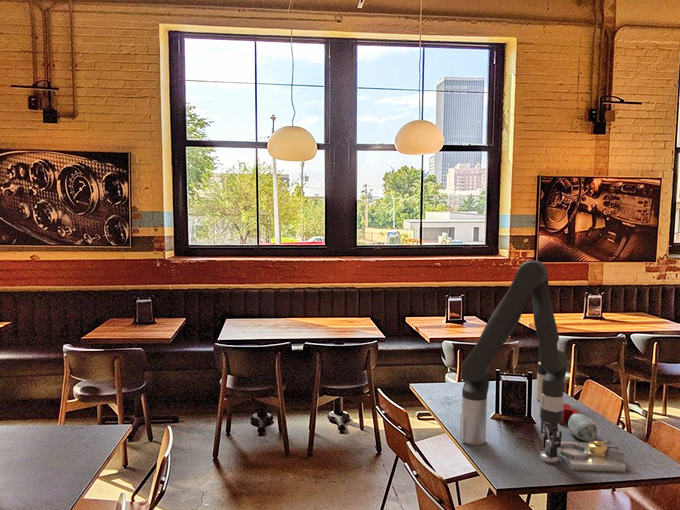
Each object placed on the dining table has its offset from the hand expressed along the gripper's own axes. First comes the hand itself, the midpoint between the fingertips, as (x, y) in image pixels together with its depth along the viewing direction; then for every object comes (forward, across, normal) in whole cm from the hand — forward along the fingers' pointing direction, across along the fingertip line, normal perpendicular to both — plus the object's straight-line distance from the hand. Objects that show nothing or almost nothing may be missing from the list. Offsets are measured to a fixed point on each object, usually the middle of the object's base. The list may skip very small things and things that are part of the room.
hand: (549, 452), depth 183 cm
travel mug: (+3, -62, +20) cm, 65 cm away
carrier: (+3, -2, +14) cm, 14 cm away
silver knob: (+3, 0, 0) cm, 3 cm away
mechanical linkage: (+3, -39, +21) cm, 45 cm away
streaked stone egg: (+3, -21, +20) cm, 29 cm away
